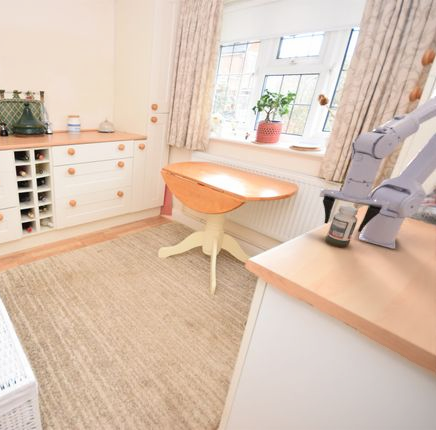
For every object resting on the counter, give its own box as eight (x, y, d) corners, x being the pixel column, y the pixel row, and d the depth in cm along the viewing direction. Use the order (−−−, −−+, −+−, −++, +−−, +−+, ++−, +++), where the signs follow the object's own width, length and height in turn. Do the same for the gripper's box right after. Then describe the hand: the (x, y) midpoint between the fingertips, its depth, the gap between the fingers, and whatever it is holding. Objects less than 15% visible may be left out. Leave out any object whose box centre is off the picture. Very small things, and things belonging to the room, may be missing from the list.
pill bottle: (342, 233, 85) (353, 205, 82) (354, 242, 80) (366, 212, 77) (323, 232, 85) (333, 204, 82) (334, 240, 81) (345, 211, 77)
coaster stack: (326, 236, 87) (328, 230, 87) (349, 243, 84) (351, 237, 83) (322, 243, 83) (325, 236, 83) (346, 250, 80) (349, 243, 79)
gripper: (324, 177, 78) (309, 222, 83) (396, 189, 69) (374, 239, 74) (328, 172, 83) (314, 216, 88) (396, 183, 74) (376, 231, 79)
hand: (342, 226), depth 82 cm, fingers open, 7 cm apart
